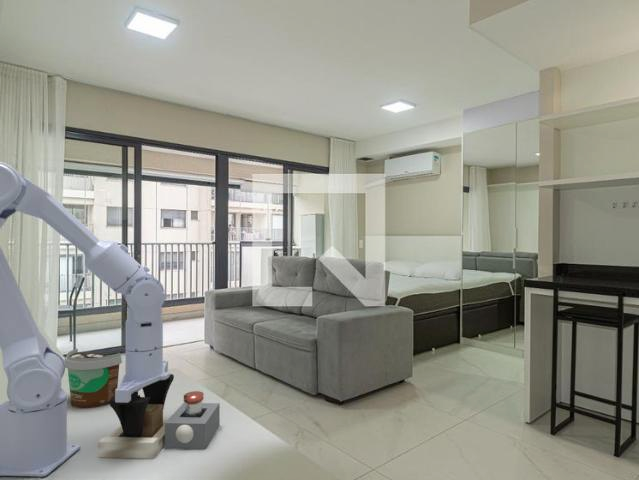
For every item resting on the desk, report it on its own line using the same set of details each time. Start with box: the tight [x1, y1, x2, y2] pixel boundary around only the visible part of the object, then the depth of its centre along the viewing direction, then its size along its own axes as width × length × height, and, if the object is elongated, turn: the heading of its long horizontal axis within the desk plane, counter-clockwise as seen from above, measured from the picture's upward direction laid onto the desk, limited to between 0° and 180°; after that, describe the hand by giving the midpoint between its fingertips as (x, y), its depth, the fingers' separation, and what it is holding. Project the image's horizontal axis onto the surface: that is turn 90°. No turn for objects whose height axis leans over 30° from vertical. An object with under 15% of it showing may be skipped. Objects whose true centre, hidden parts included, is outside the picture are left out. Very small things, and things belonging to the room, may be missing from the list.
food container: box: [64, 348, 123, 409], centre depth 81 cm, size 12×6×10 cm, turn 73°
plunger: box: [183, 390, 205, 418], centre depth 68 cm, size 3×3×5 cm
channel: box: [97, 401, 185, 459], centre depth 70 cm, size 9×18×2 cm, turn 178°
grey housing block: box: [164, 402, 221, 450], centre depth 68 cm, size 6×8×4 cm
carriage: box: [141, 404, 164, 438], centre depth 67 cm, size 5×4×5 cm
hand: (144, 428), depth 67 cm, fingers open, 7 cm apart
